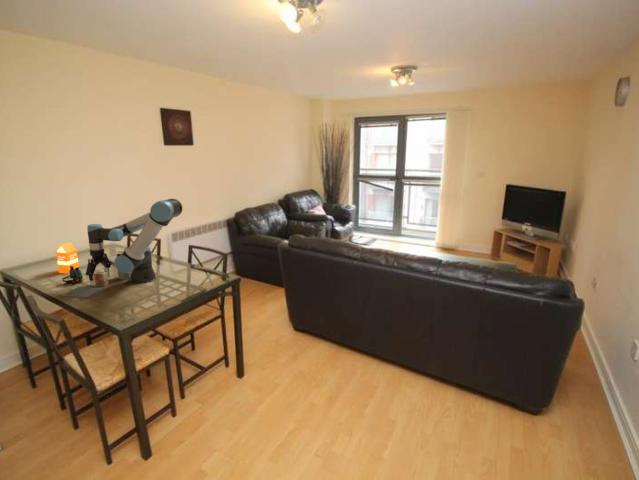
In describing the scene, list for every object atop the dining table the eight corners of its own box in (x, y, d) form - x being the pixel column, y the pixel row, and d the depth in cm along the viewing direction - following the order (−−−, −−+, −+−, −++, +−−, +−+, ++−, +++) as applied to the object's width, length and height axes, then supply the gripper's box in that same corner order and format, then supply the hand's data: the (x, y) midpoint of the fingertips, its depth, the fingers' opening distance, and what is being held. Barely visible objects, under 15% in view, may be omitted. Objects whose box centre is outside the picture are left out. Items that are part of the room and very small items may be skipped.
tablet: (127, 256, 271) (127, 253, 271) (142, 263, 255) (141, 260, 255) (105, 260, 259) (105, 257, 258) (119, 267, 243) (118, 264, 243)
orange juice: (79, 269, 235) (75, 242, 230) (69, 273, 227) (65, 245, 222) (69, 268, 236) (65, 241, 231) (58, 272, 227) (54, 244, 222)
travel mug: (125, 280, 219) (123, 254, 215) (115, 279, 220) (112, 253, 216) (134, 276, 227) (132, 251, 222) (124, 275, 228) (122, 250, 224)
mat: (104, 288, 204) (104, 287, 204) (88, 298, 191) (88, 297, 190) (78, 287, 204) (78, 286, 204) (61, 296, 191) (60, 295, 191)
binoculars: (57, 270, 204) (72, 264, 213) (61, 286, 208) (76, 279, 217) (68, 272, 202) (83, 266, 211) (72, 288, 205) (86, 281, 214)
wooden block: (108, 284, 212) (107, 272, 210) (104, 286, 208) (103, 274, 206) (98, 283, 212) (96, 271, 210) (93, 285, 208) (92, 273, 206)
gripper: (104, 243, 217) (107, 274, 222) (75, 254, 192) (79, 288, 197) (115, 244, 217) (118, 274, 222) (88, 254, 192) (92, 288, 197)
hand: (100, 281), depth 210 cm, fingers open, 13 cm apart
